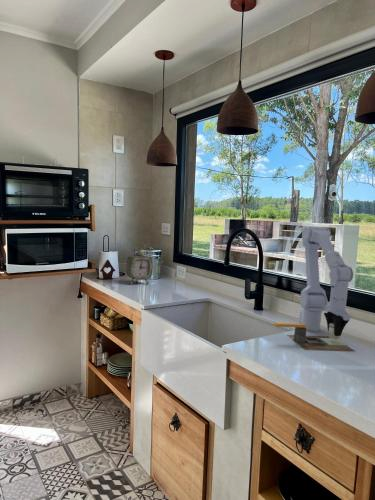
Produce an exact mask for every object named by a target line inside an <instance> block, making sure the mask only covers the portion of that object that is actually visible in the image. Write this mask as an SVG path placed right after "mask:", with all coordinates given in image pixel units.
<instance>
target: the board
mask: <svg viewBox="0 0 375 500" xmlns="http://www.w3.org/2000/svg"><path fill="white" fill-rule="evenodd" d="M286 336H287V337H289V338H290V339H291V340H292V341H293V342H294V343H296V344H297V345H298V346H300V347H301V348H302V349H303V350H305V351H323V352H324V351H325V352H326V351H328V352H356V350H354V349H353V348H352V347H350V346H348V345H347V346H338V345H328V344H327V343H325V342H324V341H322V340H321V339H320V338H329V337H328V335H307V330H306V328H300V327H294V334H286Z"/></svg>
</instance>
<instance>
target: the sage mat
mask: <svg viewBox="0 0 375 500" xmlns="http://www.w3.org/2000/svg"><path fill="white" fill-rule="evenodd" d="M320 339H321V340H322V341H324V342H325V343H327V344H328V345H338V346H348V344H346V343H345V342H343V341H342V340H340V339H331V338H320Z"/></svg>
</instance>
